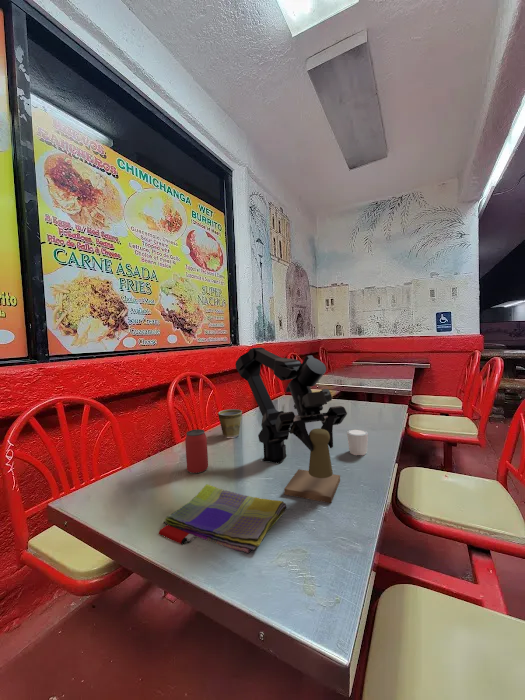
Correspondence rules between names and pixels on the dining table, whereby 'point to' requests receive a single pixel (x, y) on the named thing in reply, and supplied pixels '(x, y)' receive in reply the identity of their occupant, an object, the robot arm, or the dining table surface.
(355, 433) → the white cylinder
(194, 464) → the beer can
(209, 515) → the dish towel
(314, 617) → the dining table surface
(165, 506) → the dining table surface
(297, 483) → the walnut board
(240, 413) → the ceramic cup
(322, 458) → the olive brown peg figure
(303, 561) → the dining table surface
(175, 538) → the lighter
